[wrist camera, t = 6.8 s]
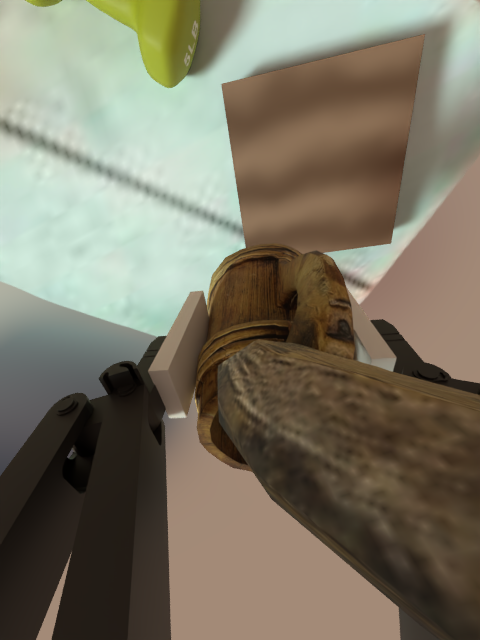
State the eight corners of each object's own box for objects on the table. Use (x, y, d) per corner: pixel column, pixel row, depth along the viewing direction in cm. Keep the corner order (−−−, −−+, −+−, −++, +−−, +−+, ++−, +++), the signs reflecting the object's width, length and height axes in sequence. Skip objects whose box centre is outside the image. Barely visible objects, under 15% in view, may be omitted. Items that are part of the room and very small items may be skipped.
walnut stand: (226, 94, 27) (221, 83, 23) (401, 52, 24) (425, 34, 21) (249, 253, 36) (248, 263, 33) (377, 235, 34) (390, 243, 30)
